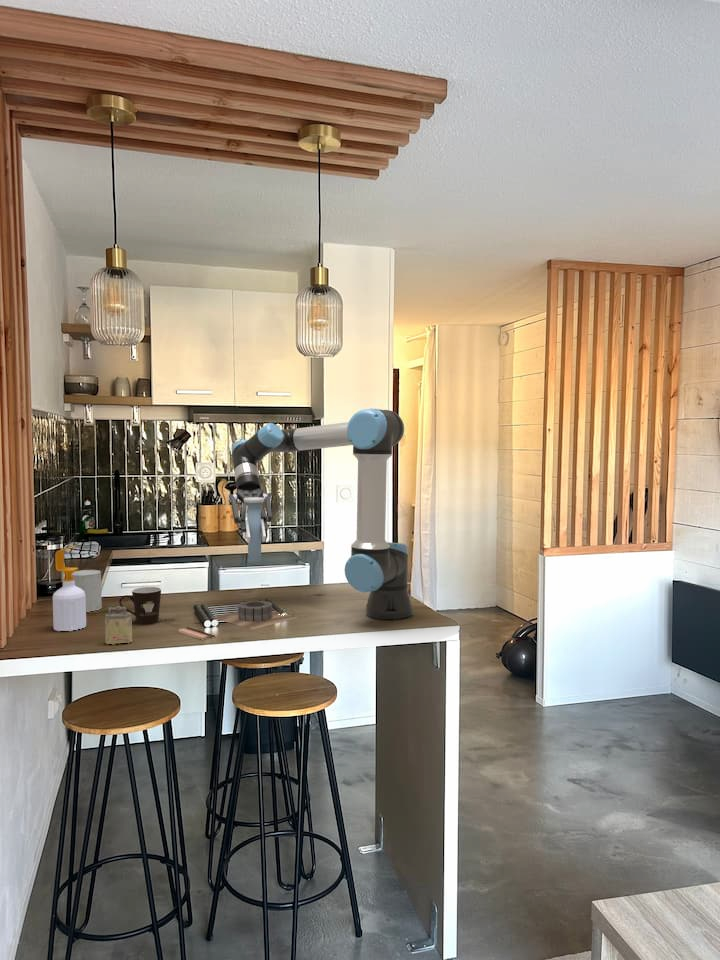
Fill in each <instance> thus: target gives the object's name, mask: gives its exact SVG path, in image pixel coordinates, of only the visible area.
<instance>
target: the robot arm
mask: <svg viewBox="0 0 720 960" xmlns="http://www.w3.org/2000/svg"><path fill="white" fill-rule="evenodd" d="M404 432H405V424H404V421H403V419H402V417H400V415H399V414H398V413H396V412H395V411H393V410H389V409H381V408H371V407H370V408H366V409H365V408H364V409H361V410H358V411H357V412H356V413H354V414H353V415H352V416H351V417H350V419H349V421H348V422H338V423H332V424H331V423H330V424H322V425H321V424H320V425H315V426H314V425H313V426H307V427H299V428H289V429H288V428H287V429H281V428H280V427H279V425H277V424H275V423H272V422H269V423H266V424H265V425H263V426H262V427H261V428H259V430H258V431H257V432H256V433H254V434H253V435H252V436H250V438H248V439H240V440H236V441H235V442H234V443H233V444H232V446H231V459H232V460H231V461H232V463H233V465H232V466H233V471H234V481H235V486H236V493H235V494H232V493H229V495H228V502H229V504H230V505H231V511H232V515H233V517H232V518H233V521H234V523H235V524H240V526H241V532H242V533H245V538H246V543H248V542H250V531H249V524H248V519H246V517H247V503H244V498H248V497H262V498H264V502H265V503H264V504H265V510H264V509H263V506H262V505H261V543H262V542H263V543H264V542H266V538H267V534H266V532H268V528H269V525H268V523H271V522H272V519H273V511H272V504H271V499H272V493H271V492H268V493H264V491H263V490H262V488H261V482H260V476H259V469H258V462H260V461H261V460H263V459H264V458H265V457H266V456H267V455H269V454H270V453H294V452H299V451H308V450H316V449H317V450H318V449H326V448H338V447H347V446H352V455H353V456H354V457H355V458H356V460H357V490H356V491H357V492H356V493H357V495H356V498H357V499H356V500H357V501H356V540H354V541H353V543H351V546H350V548H351V550H350V551H351V552H350V557H349V558H348V560H347V561H346V563H345V565H344V576H345V579H346V581H347V583H348V584H349V585H350V586H351V587H352V588H353V589H354V590H356V591H358V592H362V593H369V592H370V593H369V596H368V599H367V602H366V604H365V615H366V616H367V617H368V618H371V619H377V620H386V619H394V620H402V619H401V618H404V619H406V618H405V617H408V618H410V617H412V616H413V615H414V607H413V604H412V601H411V597H410V594H409V589H408V587H409V585H408V579H409V577H408V575H409V574H408V573H409V572H408V570H409V569H408V568H409V567H408V565H409V560H408V558H409V552H408V546H407V544H405V543H402V542H389V541H388V542H387V540H386V517H387V516H386V514H387V513H386V512H387V510H386V508H387V474H388V473H387V467H388V466H387V465H388V462H387V461H388V460H389V458H391V456H392V455H393V447H394V446H396V445H397V444H398V443H399V442H400V441H401V440H402V439H403V437H404V434H405V433H404ZM237 500H238V501H239V502H241V504H242V507H241V508H242V509H241V516H240V514H239V509H238V504H237ZM265 511H266V512H265ZM412 614H413V615H412ZM411 615H412V616H411ZM409 616H410V617H409Z"/></svg>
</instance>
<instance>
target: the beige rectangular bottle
mask: <svg viewBox="0 0 720 960" xmlns="http://www.w3.org/2000/svg"><path fill="white" fill-rule="evenodd" d="M126 609H127V607H126V606H123V607H121V606H120V605H117V606H116V607H111V606H109V607H108V609H107V611H108V613H106V614H105V615H104V616H105V618H104V629H105V630H104V631H105V642H104V643H106V644H105V645H108V644H112V645H116V644H115V643H128V644H131V643H133V627H132V626H133V624H132V621H133V619H132V613H130V612H128V611H126ZM112 611H116V612H112ZM121 611H123V612H121ZM130 642H131V643H130Z"/></svg>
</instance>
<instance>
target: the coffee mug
mask: <svg viewBox="0 0 720 960" xmlns="http://www.w3.org/2000/svg"><path fill="white" fill-rule="evenodd" d="M131 594H132V595H128V594H127V595H123V596H122V597H120V599H119V601H118V603H119V606H121V607H124V605H122V601H123V599H125V598H129V599H130V600H131V602H132V603H133V608H134V611H132V610H130V609H128V608H126V612H129V613H131V615H134V616H135V623H136V624H137V625H141V626H148V625H154V624H157V623H159V618H160V617H159V616H160V606H161V596H162V588H161V587H159V586H142V587H137V588H134V589H131Z"/></svg>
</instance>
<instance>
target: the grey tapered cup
mask: <svg viewBox="0 0 720 960" xmlns="http://www.w3.org/2000/svg"><path fill="white" fill-rule="evenodd" d="M72 577H73V578H75V586H77V587H79V588H81V589H82V590H83V591H84V592H85V596H86V612H90V611H95V610H99V609H101V608H102V609H103V607H102V606H103V605H102V604H103V603H102V601H103V600H102V599H103V598H102V571H101V570H98V569H82V570H75V571H73V573H72ZM102 609H101V610H102ZM99 611H100V610H99ZM95 612H96V611H95ZM90 613H91V612H90Z"/></svg>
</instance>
